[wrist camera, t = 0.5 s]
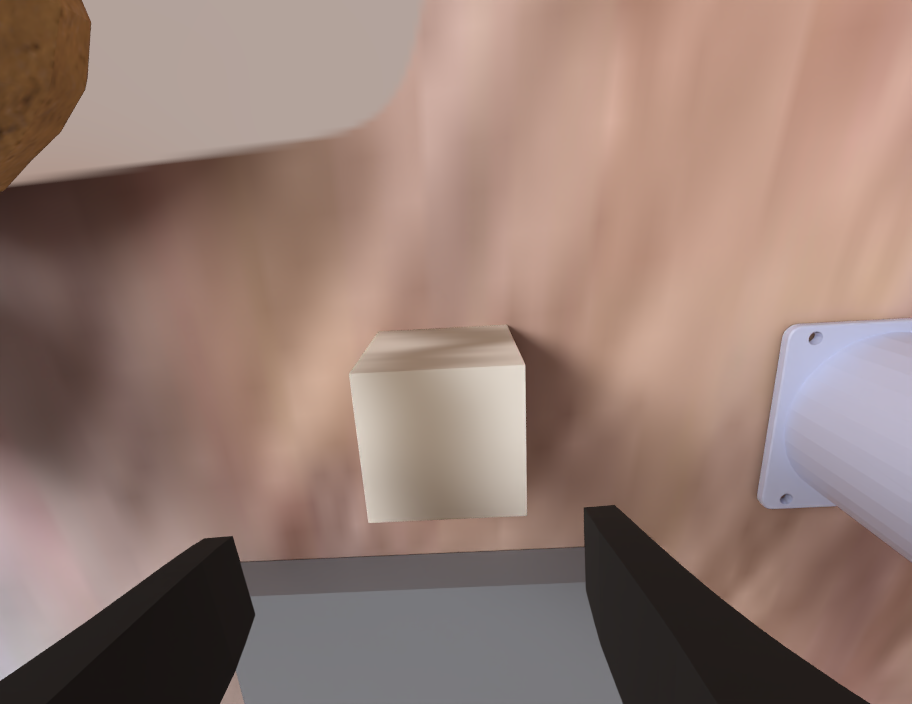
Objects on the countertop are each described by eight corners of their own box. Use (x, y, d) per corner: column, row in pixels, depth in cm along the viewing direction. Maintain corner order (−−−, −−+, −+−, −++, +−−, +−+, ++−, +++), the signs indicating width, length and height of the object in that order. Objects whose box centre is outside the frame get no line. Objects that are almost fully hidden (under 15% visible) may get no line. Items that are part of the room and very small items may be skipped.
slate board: (633, 544, 20) (652, 579, 18) (620, 733, 24) (634, 779, 22) (239, 562, 20) (216, 598, 19) (282, 746, 24) (267, 792, 22)
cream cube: (506, 324, 17) (525, 364, 13) (509, 440, 19) (527, 515, 14) (378, 331, 17) (348, 373, 13) (391, 445, 19) (368, 522, 14)
